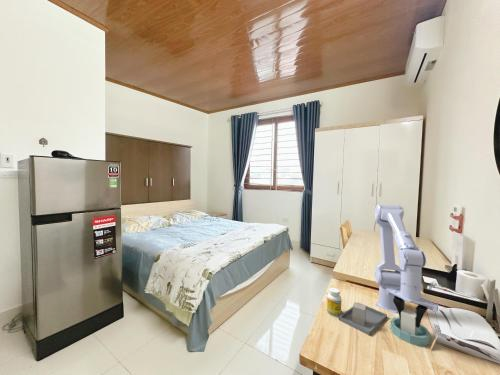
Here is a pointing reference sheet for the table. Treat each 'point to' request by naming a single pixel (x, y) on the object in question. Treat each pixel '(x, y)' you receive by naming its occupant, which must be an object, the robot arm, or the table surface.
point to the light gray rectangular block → (359, 314)
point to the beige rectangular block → (408, 321)
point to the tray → (372, 320)
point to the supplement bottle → (334, 302)
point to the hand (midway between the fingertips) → (409, 322)
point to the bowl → (418, 339)
